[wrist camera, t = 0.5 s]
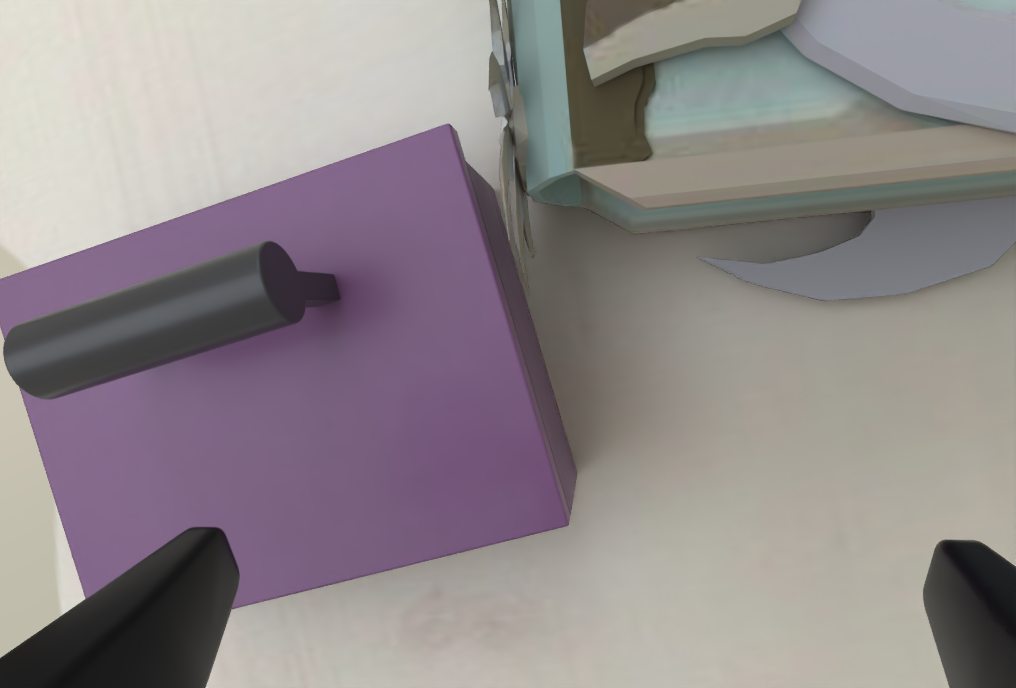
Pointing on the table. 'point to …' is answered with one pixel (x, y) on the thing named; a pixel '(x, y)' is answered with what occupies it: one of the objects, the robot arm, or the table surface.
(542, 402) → the box
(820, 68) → the ornate book
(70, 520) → the lid
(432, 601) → the table surface
